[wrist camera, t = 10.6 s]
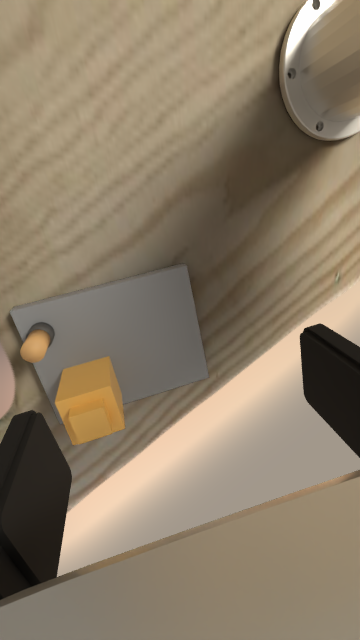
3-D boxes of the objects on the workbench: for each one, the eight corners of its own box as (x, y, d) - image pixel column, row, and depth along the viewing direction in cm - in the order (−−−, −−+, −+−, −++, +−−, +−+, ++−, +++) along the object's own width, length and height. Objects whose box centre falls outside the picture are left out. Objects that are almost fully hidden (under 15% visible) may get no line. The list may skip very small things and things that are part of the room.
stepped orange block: (109, 355, 34) (110, 394, 27) (121, 393, 35) (126, 438, 29) (62, 369, 33) (52, 412, 26) (78, 407, 35) (71, 456, 28)
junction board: (183, 263, 34) (199, 273, 28) (205, 371, 39) (222, 398, 33) (13, 307, 31) (-6, 327, 26) (61, 416, 36) (54, 453, 31)
